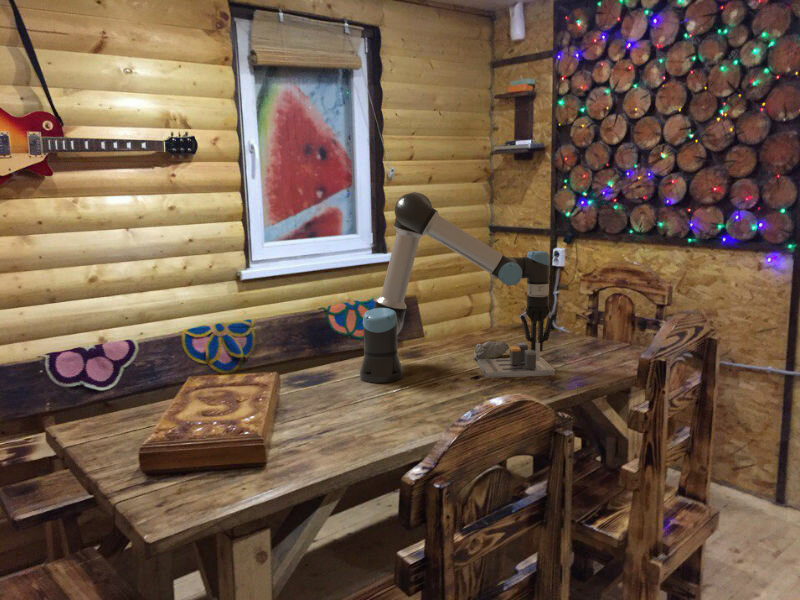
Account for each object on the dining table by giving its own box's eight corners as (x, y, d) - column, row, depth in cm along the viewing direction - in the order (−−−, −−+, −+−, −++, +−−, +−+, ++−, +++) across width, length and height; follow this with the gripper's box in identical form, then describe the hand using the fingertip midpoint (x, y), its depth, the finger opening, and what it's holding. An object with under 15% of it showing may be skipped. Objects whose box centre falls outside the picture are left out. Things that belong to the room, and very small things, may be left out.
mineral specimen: (499, 353, 257) (499, 336, 256) (510, 357, 251) (510, 340, 250) (466, 358, 250) (466, 341, 248) (477, 363, 244) (477, 345, 242)
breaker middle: (512, 365, 231) (512, 349, 230) (509, 362, 235) (509, 346, 234) (520, 364, 231) (520, 349, 230) (518, 362, 235) (518, 346, 234)
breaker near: (527, 369, 226) (527, 352, 225) (524, 366, 230) (524, 350, 228) (535, 368, 226) (536, 352, 225) (533, 365, 230) (533, 349, 229)
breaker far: (519, 360, 237) (519, 345, 236) (517, 357, 240) (517, 342, 239) (527, 360, 237) (527, 344, 236) (525, 357, 240) (525, 342, 239)
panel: (486, 378, 224) (486, 372, 224) (477, 364, 241) (477, 359, 241) (555, 375, 226) (555, 369, 225) (541, 362, 242) (541, 356, 242)
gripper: (522, 297, 225) (521, 363, 229) (559, 296, 226) (557, 362, 230) (516, 293, 232) (516, 357, 237) (552, 292, 233) (551, 356, 237)
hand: (536, 359), depth 233 cm, fingers closed
